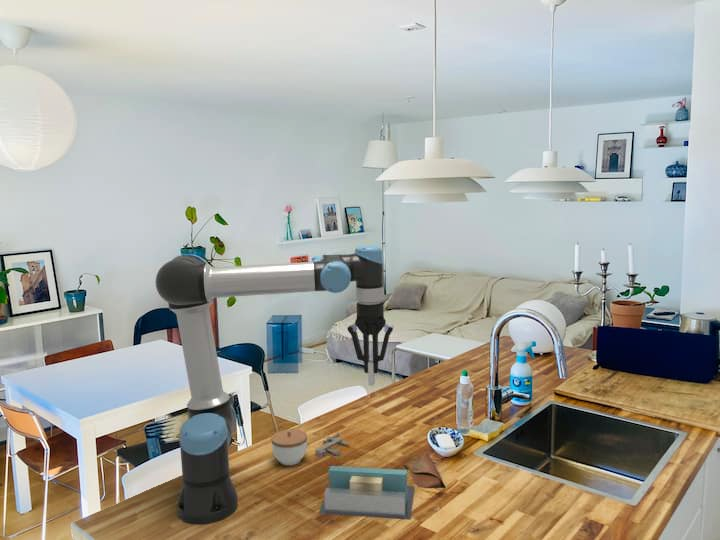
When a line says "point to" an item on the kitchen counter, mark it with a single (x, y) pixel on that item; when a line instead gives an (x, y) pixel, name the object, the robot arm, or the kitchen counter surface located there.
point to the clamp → (325, 448)
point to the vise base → (368, 503)
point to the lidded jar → (289, 446)
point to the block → (366, 483)
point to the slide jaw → (391, 477)
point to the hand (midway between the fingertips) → (371, 383)
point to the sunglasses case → (425, 472)
